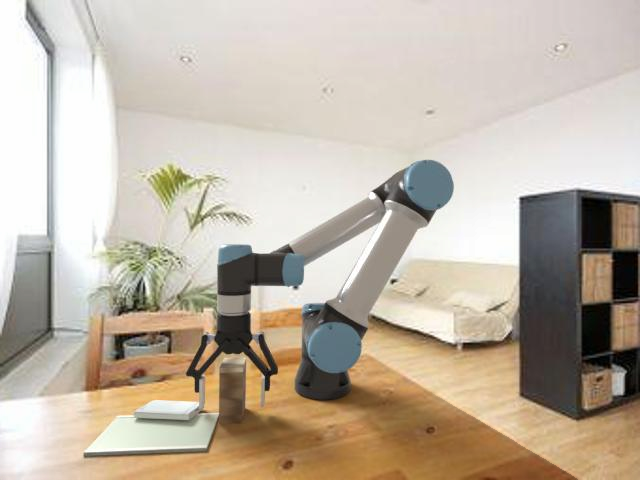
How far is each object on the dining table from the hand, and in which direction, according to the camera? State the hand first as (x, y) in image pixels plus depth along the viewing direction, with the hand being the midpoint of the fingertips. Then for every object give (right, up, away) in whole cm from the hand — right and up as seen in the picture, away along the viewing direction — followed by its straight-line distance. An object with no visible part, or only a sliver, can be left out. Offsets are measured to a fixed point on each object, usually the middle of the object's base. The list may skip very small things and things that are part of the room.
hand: (232, 405), depth 85 cm
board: (-13, -2, -8) cm, 16 cm away
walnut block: (0, -2, 0) cm, 2 cm away
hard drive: (-14, -2, -1) cm, 14 cm away
